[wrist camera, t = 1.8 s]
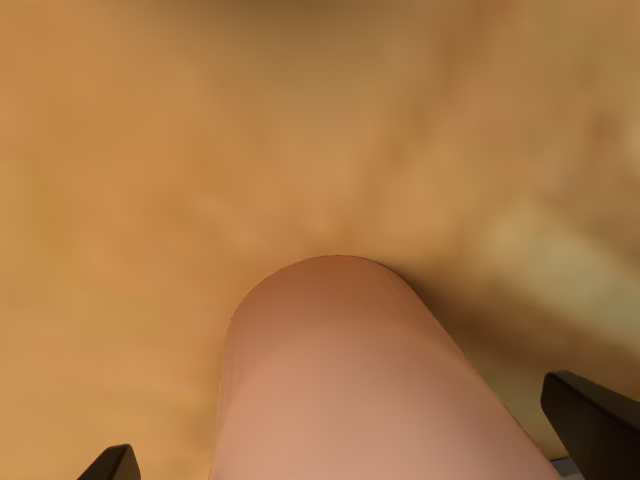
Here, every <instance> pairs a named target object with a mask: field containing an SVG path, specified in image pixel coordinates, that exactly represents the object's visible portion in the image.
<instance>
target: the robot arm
mask: <svg viewBox="0 0 640 480" xmlns="http://www.w3.org/2000/svg"><path fill="white" fill-rule="evenodd" d="M540 401H541V407H542V410H543V412H544V414H545V415H546V417H547V419H548V420H549V422H550V424H551V425H552V427H553V428H554V430H555V432H556V433H557V435H558V437H559V438H560V440H561V442H562V443H563V445H564V447H565V448H566V450H567V452H568V453H569V455H570V456H571V458H572V460H573V461H574V463H575V465H576V466H577V468H578V469H579V471H580V473H581V474H582V476H583V477H584V479H585V480H640V402H637V401H635V400H633V399H631V398H628V397H626V396H624V395H621V394H619V393H617V392H615V391H612V390H610V389H608V388H606V387H603V386H601V385H599V384H597V383H594V382H592V381H590V380H588V379H585V378H583V377H581V376H578V375H576V374H574V373H572V372H569V371H567V370H558V371H552V372H548V373H547V374H546V375H545V377H544V382H543V388H542V394H541V400H540ZM77 480H141V475H140V470H139V467H138V464H137V461H136V458H135V455H134V451H133V449H132V446H131V445H129V444H122V445H116V446H111V447H108V448H107V449H105V450H104V451H103V452H102V453H101V454H100V455H99V456H98V458H97V459H96V460H95V461H94V462H93V463H92V464H91V465H90V466H89V467H88V468H87V469H86V470H85V471H84V472H83V473H82V475H81V476H80V477H79V478H78V479H77Z"/></svg>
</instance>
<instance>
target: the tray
mask: <svg viewBox="0 0 640 480" xmlns="http://www.w3.org/2000/svg"><path fill="white" fill-rule="evenodd" d="M550 463H551V464H552V465H553V466H554V468H555V469H556V470H557V471H558V473H559V474H560V475H561V476H562V478H563V479H564V480H585V479H584V477H583V476H582V474H581V473H580V471H579V469H578V468H577V466H576V465H575V463H574V461H573V460H572V458H566V459H561V460H556V461H551V462H550Z"/></svg>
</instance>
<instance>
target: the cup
mask: <svg viewBox="0 0 640 480" xmlns="http://www.w3.org/2000/svg"><path fill="white" fill-rule="evenodd" d="M208 480H564V479H563V478H562V476H561V475H560V474H559V473H558V471H557V470H556V469H555V468H554V466H553V465H552V464H551V463H550V461H549V460H548V459H547V458H546V456H545V455H544V454H543V453H542V451H541V450H540V449H539V448H538V446H537V445H536V444H535V443H534V441H533V440H532V439H531V438H530V436H529V435H528V434H527V433H526V431H525V430H524V429H523V428H522V426H521V425H520V424H519V423H518V421H517V420H516V419H515V417H514V416H513V415H512V414H511V412H510V411H509V410H508V409H507V407H506V406H505V405H504V404H503V402H502V401H501V400H500V399H499V397H498V396H497V395H496V394H495V392H494V391H493V390H492V389H491V387H490V386H489V385H488V384H487V382H486V381H485V380H484V379H483V377H482V376H481V375H480V374H479V372H478V371H477V370H476V369H475V367H474V366H473V365H472V364H471V362H470V361H469V360H468V359H467V357H466V356H465V355H464V353H463V352H462V351H461V350H460V348H459V347H458V346H457V345H456V343H455V342H454V341H453V340H452V338H451V337H450V336H449V335H448V333H447V332H446V331H445V330H444V328H443V327H442V326H441V325H440V323H439V322H438V321H437V320H436V318H435V317H434V316H433V315H432V313H431V312H430V311H429V310H428V308H427V307H426V306H425V305H424V303H423V302H422V301H421V300H420V298H419V297H418V296H417V295H416V293H415V292H414V291H413V289H412V288H411V287H410V286H409V284H408V283H406V282H405V281H404V280H403V279H402V278H401V277H400V276H399V275H397V274H396V273H395V272H393V271H392V270H390V269H389V268H387V267H385V266H383V265H381V264H378V263H376V262H373V261H370V260H367V259H363V258H358V257H353V256H339V255H336V256H322V257H316V258H311V259H307V260H303V261H300V262H297V263H294V264H292V265H289V266H287V267H285V268H283V269H280V270H279V271H277V272H275V273H274V274H272V275H270V276H269V277H267V278H266V279H265V280H263V281H262V282H261V283H260V284H258V285H257V286H256V287H255V288H254V289H253V290H252V291H251V292H250V293H249V294H248V295H247V296H246V297H245V299H244V300H243V301H242V303H241V304H240V305H239V307H238V308H237V310H236V312H235V314H234V315H233V317H232V319H231V322H230V324H229V327H228V330H227V334H226V338H225V343H224V352H223V360H222V368H221V377H220V385H219V394H218V402H217V410H216V419H215V427H214V436H213V444H212V452H211V461H210V469H209V477H208Z"/></svg>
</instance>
